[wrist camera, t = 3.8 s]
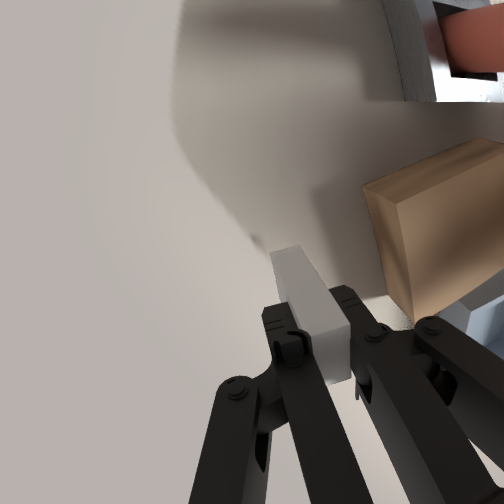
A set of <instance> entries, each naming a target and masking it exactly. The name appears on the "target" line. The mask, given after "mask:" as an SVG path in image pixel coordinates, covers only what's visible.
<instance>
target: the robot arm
mask: <svg viewBox="0 0 504 504" xmlns="http://www.w3.org/2000/svg"><path fill="white" fill-rule="evenodd" d="M270 255H271V259H272V264H273V269H274V274H275V278H276V283H277V288H278V293H279V297H280V300H281V303H280V304H276V305H272V306H268V307H264V310H263V313H262V320H263V324H264V328H265V332H266V335H267V339H268V344H269V347H270V351H271V355H272V361H271V365H270V366H269V368H268V369H267V370H266V371H265V372H264V373H262V374H261V375H259V376H257V377H255V378H253V379H252V378H250V377H247V376H235V377H231V378H229V379H227V380H225V381H224V382H223V383H222V384H221V385H220V386H219V388H218V390H217V392H216V396H215V400H214V404H213V408H212V412H211V416H210V420H209V424H208V428H207V432H206V436H205V440H204V444H203V448H202V452H201V456H200V460H199V464H198V468H197V472H196V475H195V480H194V484H193V487H192V491H191V496H190V499H189V503H188V504H265V500H266V491H267V482H268V472H269V462H270V452H271V442H272V431H273V430H275V429H276V428H279V427H281V426H282V425H284V424H286V423H287V422H289V424H290V428H291V432H292V436H293V439H294V443H295V447H296V451H297V454H298V458H299V462H300V466H301V469H302V473H303V477H304V480H305V484H306V487H307V491H308V495H309V499H310V502H311V504H373V501H372V498H371V496H370V493H369V490H368V488H367V485H366V483H365V480H364V478H363V475H362V473H361V470H360V468H359V465H358V463H357V460H356V458H355V455H354V453H353V450H352V447H351V445H350V443H349V440H348V438H347V435H346V433H345V430H344V428H343V425H342V423H341V420H340V418H339V416H338V413H337V411H336V408H335V406H334V403H333V401H332V398H331V396H330V393H329V391H328V389H327V386H329V385H332V384H335V383H338V382H341V381H344V380H347V379H350V378H351V369H352V371H353V373H354V375H355V377H356V388H355V390H356V391H355V397H356V400H359V394H360V396H361V399H362V401H363V403H364V405H365V407H366V409H367V411H368V413H369V415H370V417H371V419H372V421H373V424H374V426H375V428H376V430H377V432H378V434H379V436H380V438H381V440H382V442H383V445H384V447H385V449H386V451H387V453H388V455H389V457H390V460H391V462H392V464H393V466H394V468H395V471H396V473H397V475H398V477H399V479H400V482H401V484H402V486H403V488H404V491H405V493H406V495H407V497H408V500H409V502H410V504H504V488H500V487H499V486H497V485H496V484H495V482H494V481H493V479H492V477H491V476H490V474H489V473H488V471H487V469H486V467H485V465H484V464H483V462H482V461H481V459H480V457H479V456H478V454H477V452H476V451H475V449H474V448H473V446H472V444H471V443H470V441H469V440H471V442H472V443H474V444H475V445H476V446H477V447H478V448H479V449H480V450H481V451H482V452H483V453H484V454H486V455H487V456H488V457H489V458H490V459H491V460H492V461H493V462H494V463H495V464H496V465H497V466H498V467H499V468H501V469H502V470H503V471H504V360H503V359H501V358H500V357H499V356H497V355H496V354H494V353H493V352H491V351H490V350H488V349H487V348H486V347H484V346H483V345H481V344H480V343H478V342H477V341H475V340H474V339H472V338H471V337H470V336H468V335H467V334H465V333H464V332H462V331H461V330H459V329H458V328H456V327H455V326H453V325H452V324H450V323H449V322H447V321H446V320H444V319H442V318H440V317H436V316H426V317H423V318H421V319H419V320H418V321H417V322H416V324H415V327H414V329H411V330H402V331H394V330H392V329H391V328H390V327H389V326H387V325H385V324H383V323H378V322H377V321H376V319H375V318H374V317H373V315H372V314H371V313H370V311H369V310H368V309H367V307H366V306H365V305H364V303H363V302H362V301H361V299H360V298H359V297H358V295H357V294H356V293H355V291H354V290H353V289H351V288H349V287H347V286H345V285H342V286H338V287H335V288H331V289H328V288H327V287H326V285H325V284H324V282H323V281H322V279H321V277H320V276H319V274H318V273H317V271H316V270H315V268H314V267H313V265H312V264H311V262H310V261H309V259H308V258H307V256H306V255H305V253H304V252H303V250H302V249H301V247H300V246H295V247H291V248H287V249H283V250H279V251H275V252H271V253H270ZM468 439H469V440H468Z"/></svg>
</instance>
